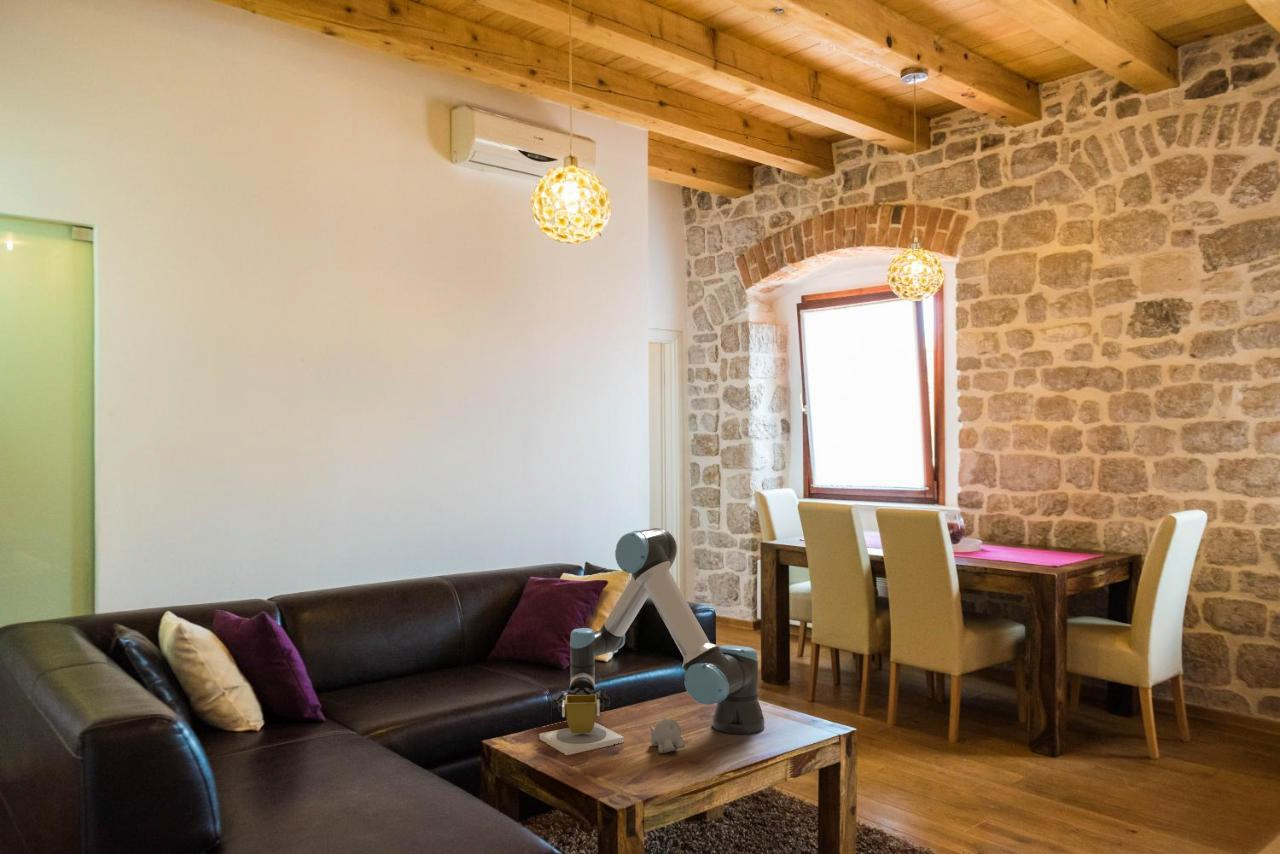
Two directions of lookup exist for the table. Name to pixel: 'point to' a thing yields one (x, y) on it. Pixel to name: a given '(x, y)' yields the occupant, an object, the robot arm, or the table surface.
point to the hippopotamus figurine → (667, 736)
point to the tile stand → (581, 739)
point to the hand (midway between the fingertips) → (580, 711)
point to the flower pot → (581, 712)
